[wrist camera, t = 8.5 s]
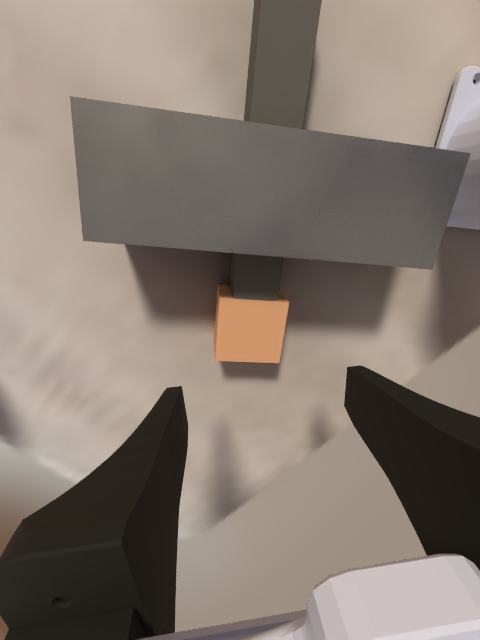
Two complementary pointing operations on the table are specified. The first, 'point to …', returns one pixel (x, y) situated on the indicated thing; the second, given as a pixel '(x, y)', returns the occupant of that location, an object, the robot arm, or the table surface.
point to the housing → (259, 187)
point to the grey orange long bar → (281, 110)
